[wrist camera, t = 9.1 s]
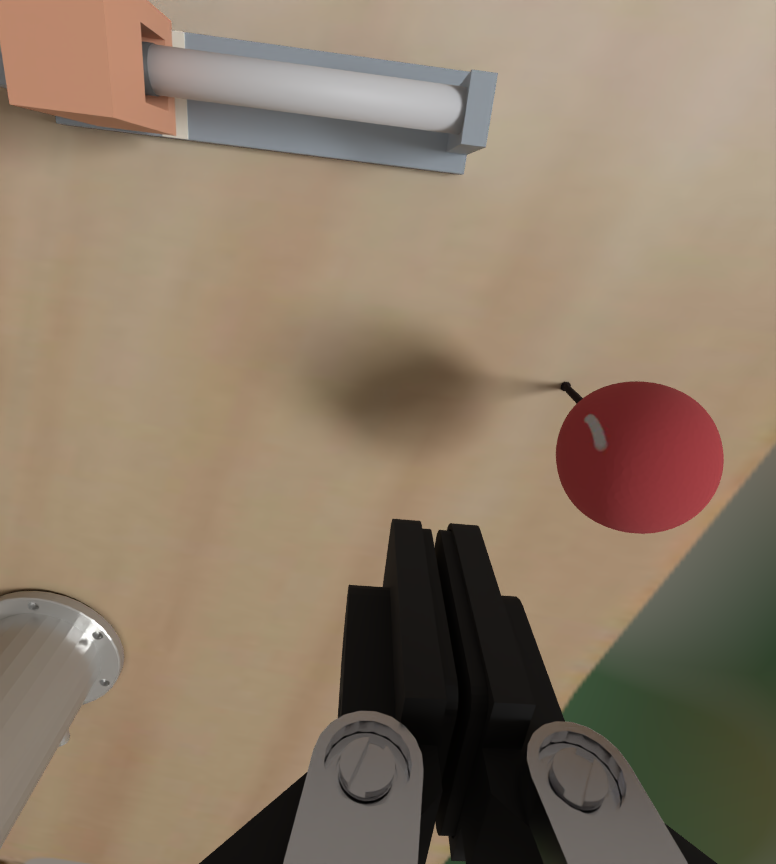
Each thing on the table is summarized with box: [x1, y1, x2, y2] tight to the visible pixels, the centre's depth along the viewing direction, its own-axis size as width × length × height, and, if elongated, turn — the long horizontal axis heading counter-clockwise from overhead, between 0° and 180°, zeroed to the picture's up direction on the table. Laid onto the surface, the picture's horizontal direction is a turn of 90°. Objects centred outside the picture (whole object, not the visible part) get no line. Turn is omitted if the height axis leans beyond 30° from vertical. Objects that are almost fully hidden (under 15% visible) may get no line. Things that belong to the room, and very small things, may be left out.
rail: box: [0, 30, 498, 175], centre depth 27 cm, size 5×23×7 cm, turn 84°
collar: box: [0, 0, 176, 136], centre depth 24 cm, size 5×4×8 cm
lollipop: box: [556, 382, 724, 534], centre depth 31 cm, size 8×8×15 cm
